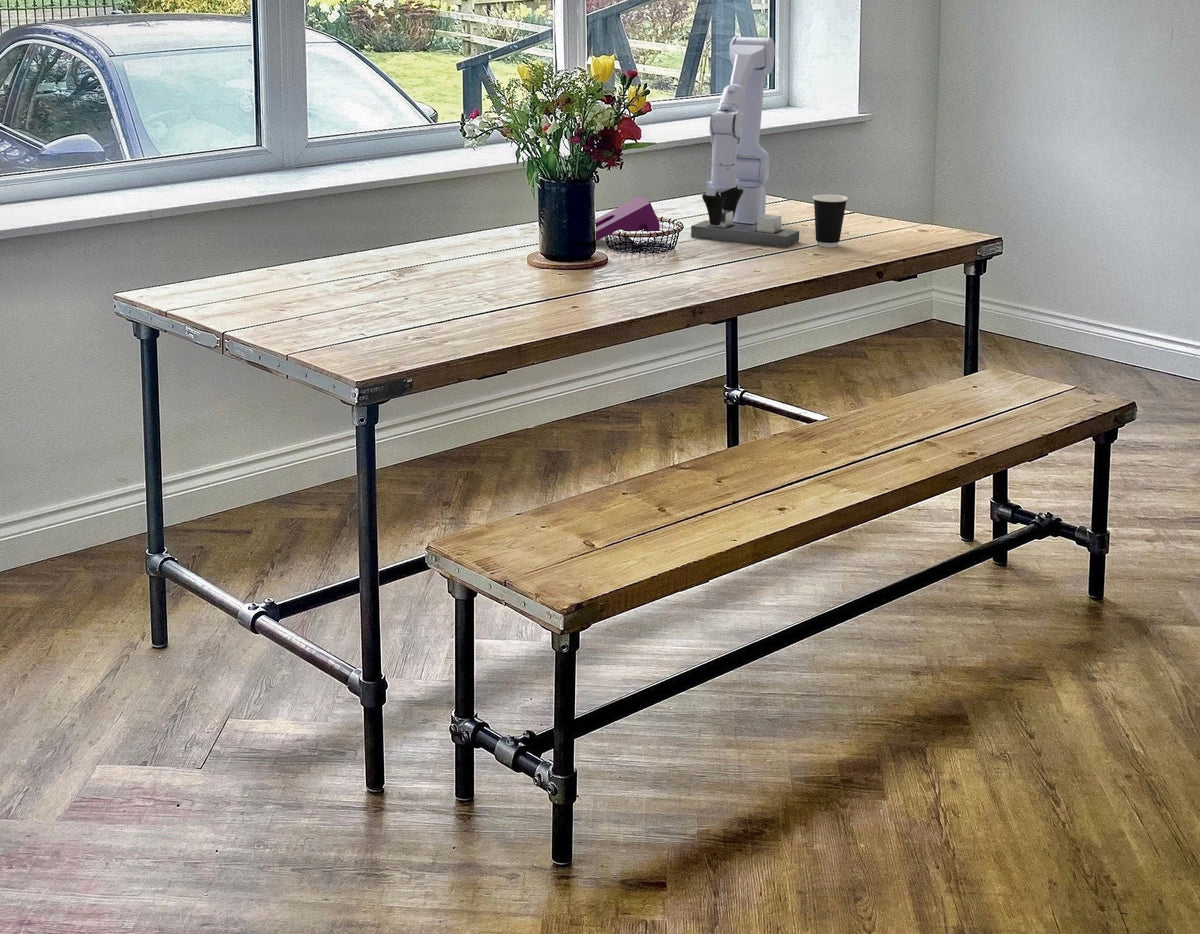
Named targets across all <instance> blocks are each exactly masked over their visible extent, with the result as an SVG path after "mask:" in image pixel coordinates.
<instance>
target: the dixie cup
mask: <svg viewBox="0 0 1200 934" xmlns="http://www.w3.org/2000/svg"><path fill="white" fill-rule="evenodd" d="M812 199H813V205H814V206H813V207H814V228H815V229H814V230H815V241H816V246H818V245H819V246H818V247H821V246H824V247H823V248H835V246H836V247H838V246H839V242H840V241H841V239H840V238H841V233H842V230H843V229H842V228H843V224H844V223H843V222H844V217H845V213H846V212H845V211H846V206H847V201H848V199H849V198H848V197H847V196H844V195H842V194H841V195H839V194H816V195H813V196H812Z"/></svg>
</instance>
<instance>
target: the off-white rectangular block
mask: <svg viewBox="0 0 1200 934" xmlns="http://www.w3.org/2000/svg"><path fill="white" fill-rule="evenodd" d="M756 226H757V232H760V233H769V234H777V233H779V232H781V229H782V215H776V214H775V215H774V214H766V213H765V214H764V215H762V216H759V217H758V220H757V223H756Z"/></svg>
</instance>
